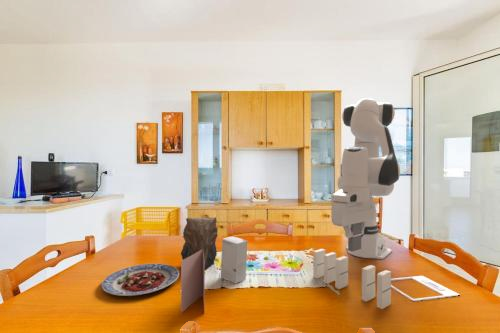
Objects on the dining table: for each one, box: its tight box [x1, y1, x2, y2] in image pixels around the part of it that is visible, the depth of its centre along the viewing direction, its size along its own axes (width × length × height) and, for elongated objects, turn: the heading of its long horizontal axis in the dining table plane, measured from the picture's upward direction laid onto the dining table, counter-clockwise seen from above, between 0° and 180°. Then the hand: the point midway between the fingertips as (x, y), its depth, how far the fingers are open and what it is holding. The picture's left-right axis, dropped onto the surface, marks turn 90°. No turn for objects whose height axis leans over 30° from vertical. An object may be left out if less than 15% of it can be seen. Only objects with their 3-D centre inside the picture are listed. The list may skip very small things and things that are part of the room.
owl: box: [180, 216, 218, 271], centre depth 111 cm, size 13×13×20 cm
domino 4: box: [347, 222, 361, 252], centre depth 88 cm, size 2×5×10 cm, turn 125°
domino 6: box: [376, 269, 392, 310], centre depth 80 cm, size 2×5×10 cm, turn 125°
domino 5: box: [361, 264, 376, 303], centre depth 84 cm, size 2×5×10 cm, turn 125°
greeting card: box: [180, 249, 206, 313], centre depth 79 cm, size 11×7×15 cm, turn 157°
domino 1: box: [312, 248, 326, 279], centre depth 100 cm, size 2×5×10 cm, turn 125°
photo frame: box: [391, 275, 461, 302], centre depth 91 cm, size 15×1×18 cm
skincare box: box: [220, 236, 248, 284], centre depth 98 cm, size 8×6×15 cm
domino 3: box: [334, 255, 349, 290], centre depth 92 cm, size 2×5×10 cm, turn 125°
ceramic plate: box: [101, 263, 180, 297], centre depth 94 cm, size 26×26×3 cm
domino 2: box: [323, 251, 337, 284], centre depth 96 cm, size 2×5×10 cm, turn 125°
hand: (354, 235), depth 88 cm, fingers closed on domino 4, 5 cm apart
